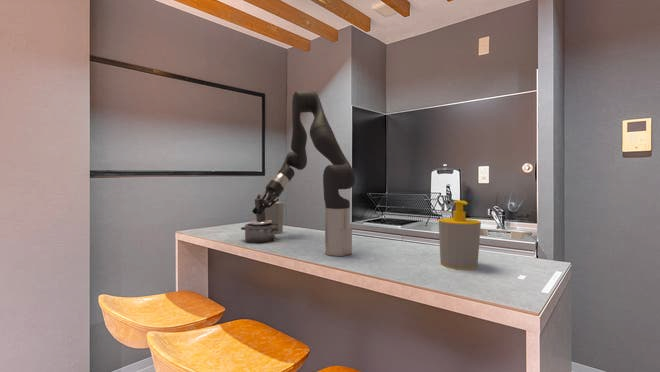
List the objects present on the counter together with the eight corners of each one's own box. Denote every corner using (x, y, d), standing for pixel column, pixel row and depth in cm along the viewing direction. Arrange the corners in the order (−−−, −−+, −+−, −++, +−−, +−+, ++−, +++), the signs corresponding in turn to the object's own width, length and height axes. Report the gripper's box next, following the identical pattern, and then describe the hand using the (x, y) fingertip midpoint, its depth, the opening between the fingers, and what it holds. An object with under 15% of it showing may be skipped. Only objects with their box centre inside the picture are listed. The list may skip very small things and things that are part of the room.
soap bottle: (453, 271, 105) (454, 202, 104) (430, 261, 118) (430, 199, 117) (489, 268, 109) (490, 201, 108) (462, 258, 121) (463, 198, 120)
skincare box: (262, 233, 172) (262, 202, 172) (269, 231, 179) (269, 201, 179) (278, 234, 170) (278, 202, 169) (284, 232, 177) (284, 201, 176)
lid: (275, 221, 155) (273, 197, 153) (259, 226, 148) (256, 201, 147) (263, 220, 161) (261, 196, 160) (246, 224, 154) (244, 200, 153)
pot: (283, 238, 158) (283, 223, 158) (272, 244, 146) (272, 227, 146) (248, 237, 162) (248, 222, 162) (235, 242, 150) (235, 226, 149)
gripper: (263, 179, 163) (241, 206, 155) (282, 179, 154) (260, 208, 145) (272, 189, 167) (251, 217, 159) (291, 190, 158) (270, 220, 149)
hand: (256, 213), depth 152 cm, fingers closed on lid, 2 cm apart
